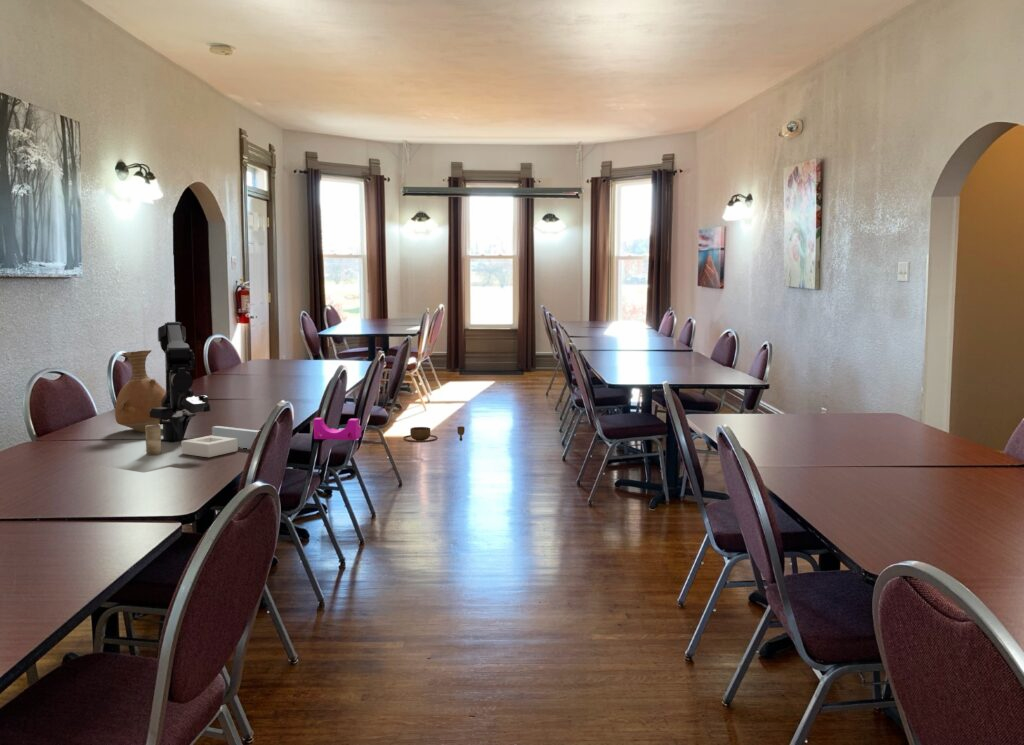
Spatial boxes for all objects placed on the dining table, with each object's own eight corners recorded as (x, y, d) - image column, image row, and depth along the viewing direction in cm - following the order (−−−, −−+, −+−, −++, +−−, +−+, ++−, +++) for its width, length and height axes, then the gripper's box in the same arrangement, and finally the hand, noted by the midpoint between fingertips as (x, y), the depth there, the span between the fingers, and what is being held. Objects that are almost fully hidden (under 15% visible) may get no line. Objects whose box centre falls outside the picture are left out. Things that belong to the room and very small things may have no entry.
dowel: (143, 454, 276) (142, 426, 275) (154, 452, 280) (153, 424, 279) (152, 455, 274) (151, 427, 273) (164, 453, 278) (163, 425, 277)
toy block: (361, 438, 307) (360, 417, 306) (356, 441, 301) (355, 420, 300) (320, 437, 309) (319, 416, 308) (314, 440, 302) (313, 419, 302)
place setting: (426, 436, 313) (426, 420, 312) (467, 443, 300) (467, 426, 300) (390, 443, 300) (390, 426, 299) (432, 450, 287) (432, 433, 286)
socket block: (181, 453, 277) (181, 441, 276) (210, 447, 287) (210, 435, 287) (208, 457, 271) (208, 444, 270) (237, 450, 281) (237, 438, 281)
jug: (123, 440, 300) (120, 353, 297) (106, 432, 314) (103, 349, 311) (181, 433, 313) (178, 350, 310) (162, 426, 327) (159, 347, 324)
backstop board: (212, 444, 293) (211, 426, 292) (218, 443, 295) (217, 425, 294) (256, 450, 283) (256, 432, 283) (262, 448, 286) (261, 430, 285)
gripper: (173, 392, 255) (175, 444, 257) (222, 385, 272) (223, 435, 273) (147, 389, 260) (149, 441, 262) (196, 383, 277) (198, 432, 278)
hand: (181, 437), depth 269 cm, fingers closed
